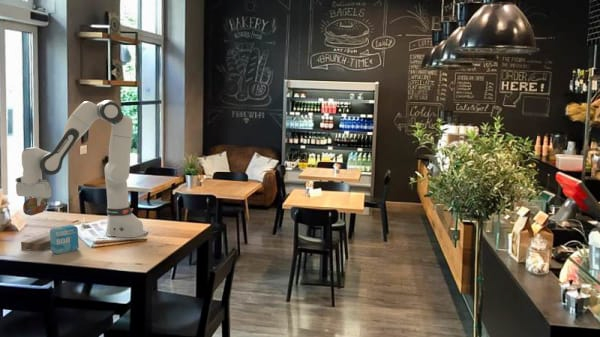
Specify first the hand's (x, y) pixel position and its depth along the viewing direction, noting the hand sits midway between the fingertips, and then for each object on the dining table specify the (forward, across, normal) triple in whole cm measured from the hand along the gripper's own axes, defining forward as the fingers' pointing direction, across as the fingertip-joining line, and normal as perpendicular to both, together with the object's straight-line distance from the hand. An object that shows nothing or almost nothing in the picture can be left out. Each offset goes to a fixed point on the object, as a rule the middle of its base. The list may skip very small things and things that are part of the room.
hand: (35, 205), depth 310 cm
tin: (+4, +1, 0) cm, 4 cm away
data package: (+19, -27, +10) cm, 34 cm away
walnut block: (+19, -9, +4) cm, 21 cm away
